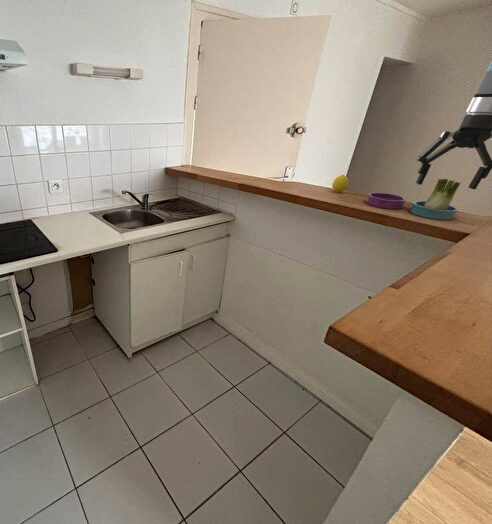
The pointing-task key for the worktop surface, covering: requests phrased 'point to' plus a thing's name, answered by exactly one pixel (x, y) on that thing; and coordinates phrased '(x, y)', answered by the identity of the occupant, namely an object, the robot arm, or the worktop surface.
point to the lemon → (340, 183)
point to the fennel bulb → (442, 195)
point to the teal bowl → (433, 211)
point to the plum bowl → (385, 200)
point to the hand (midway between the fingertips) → (444, 186)
